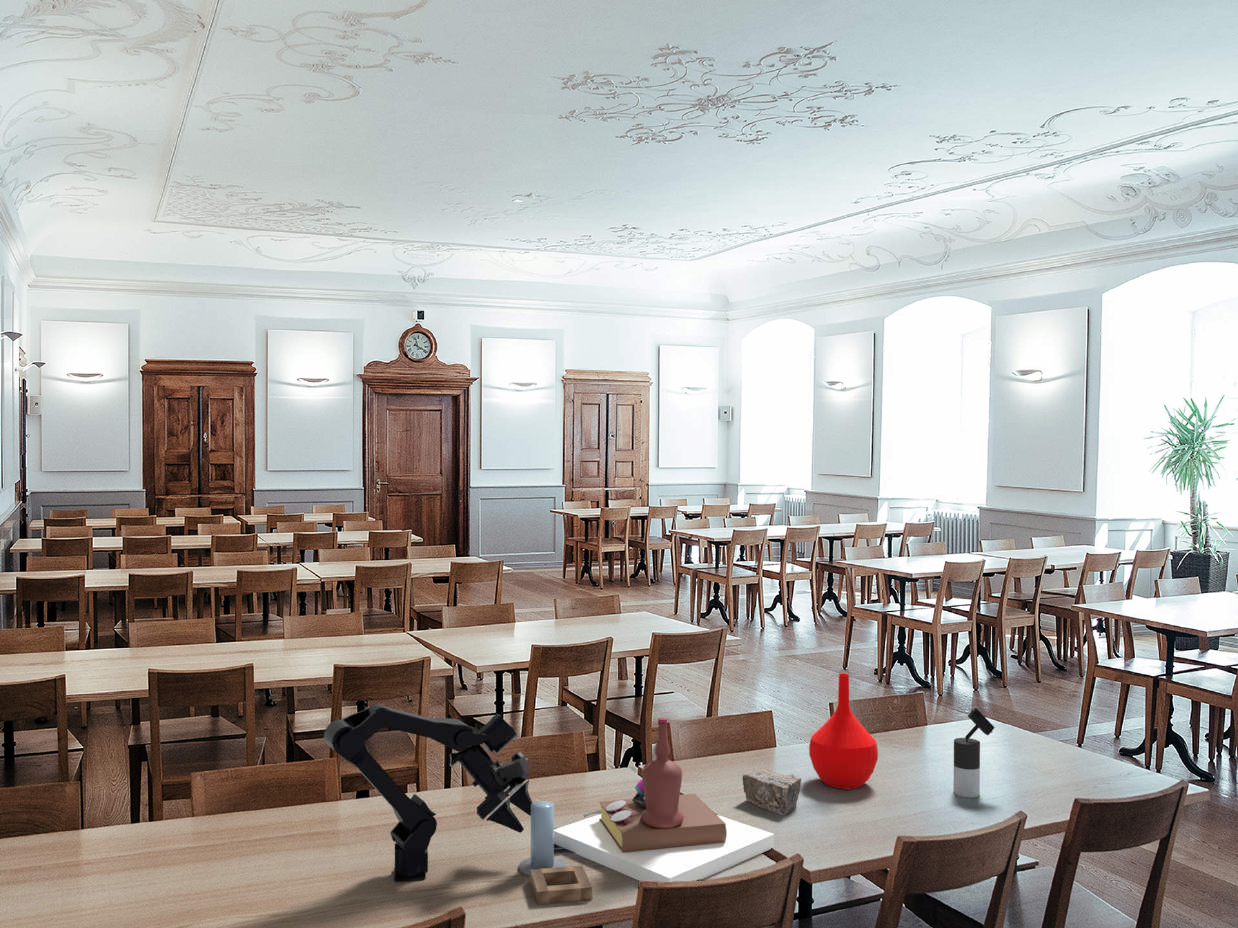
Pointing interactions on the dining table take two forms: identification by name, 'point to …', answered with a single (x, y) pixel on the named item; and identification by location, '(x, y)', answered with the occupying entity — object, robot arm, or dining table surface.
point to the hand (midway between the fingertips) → (529, 823)
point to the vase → (843, 746)
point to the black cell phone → (561, 850)
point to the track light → (969, 758)
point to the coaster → (526, 868)
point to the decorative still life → (662, 829)
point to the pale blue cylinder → (542, 835)
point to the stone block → (772, 790)
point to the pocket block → (560, 892)
